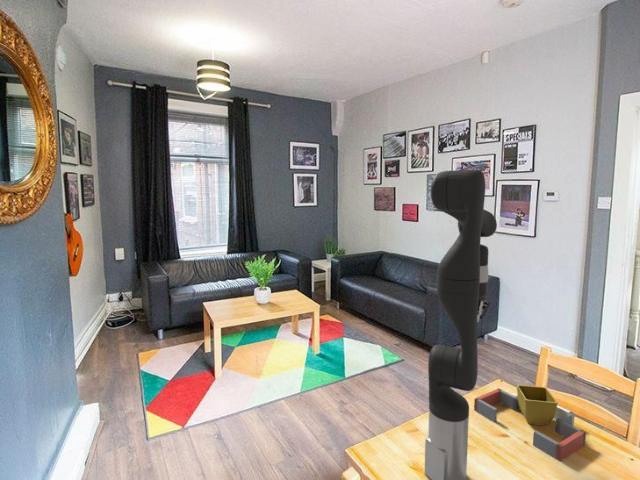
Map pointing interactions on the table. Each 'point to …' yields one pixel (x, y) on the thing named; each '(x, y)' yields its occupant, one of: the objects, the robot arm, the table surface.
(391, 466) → the table surface
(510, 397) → the box
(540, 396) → the flower pot
